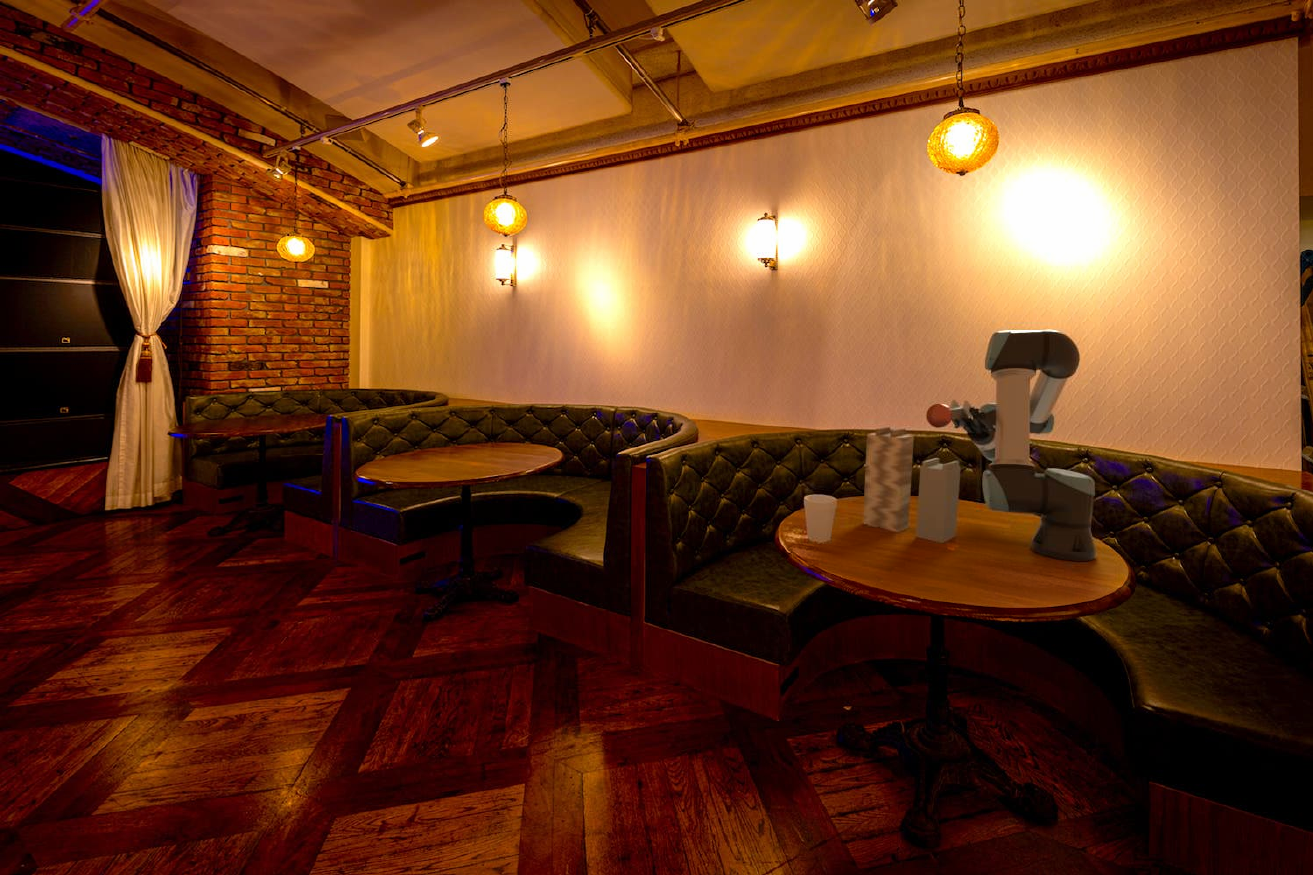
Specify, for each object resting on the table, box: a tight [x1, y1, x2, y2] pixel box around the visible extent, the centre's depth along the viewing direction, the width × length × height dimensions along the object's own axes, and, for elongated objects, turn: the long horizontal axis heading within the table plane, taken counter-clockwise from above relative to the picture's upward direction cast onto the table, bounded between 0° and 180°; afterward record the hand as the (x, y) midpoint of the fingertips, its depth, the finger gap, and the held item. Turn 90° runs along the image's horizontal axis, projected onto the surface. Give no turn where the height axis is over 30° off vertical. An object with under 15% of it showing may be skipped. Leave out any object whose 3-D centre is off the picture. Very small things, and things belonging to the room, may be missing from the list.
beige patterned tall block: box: [862, 426, 915, 533], centre depth 192 cm, size 12×7×32 cm, turn 41°
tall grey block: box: [915, 457, 962, 544], centre depth 181 cm, size 8×9×24 cm
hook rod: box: [925, 403, 975, 428], centre depth 183 cm, size 7×22×7 cm, turn 130°
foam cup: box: [803, 494, 838, 542], centre depth 179 cm, size 10×9×13 cm
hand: (958, 404), depth 184 cm, fingers closed on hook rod, 3 cm apart
